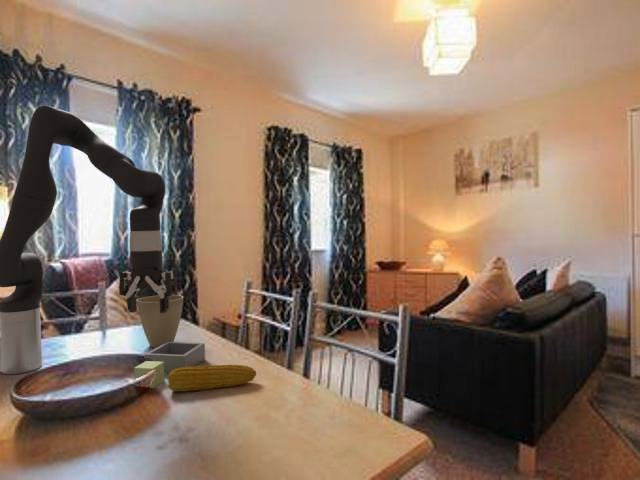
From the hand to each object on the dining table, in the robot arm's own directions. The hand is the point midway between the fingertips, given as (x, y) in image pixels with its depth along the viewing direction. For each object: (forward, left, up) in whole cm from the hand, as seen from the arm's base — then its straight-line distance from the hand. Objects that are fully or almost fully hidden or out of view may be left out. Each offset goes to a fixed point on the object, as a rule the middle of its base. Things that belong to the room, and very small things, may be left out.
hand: (148, 312), depth 100 cm
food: (+17, 0, -19) cm, 25 cm away
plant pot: (-16, +32, -19) cm, 40 cm away
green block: (0, 0, -19) cm, 19 cm away
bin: (0, +13, -18) cm, 22 cm away
